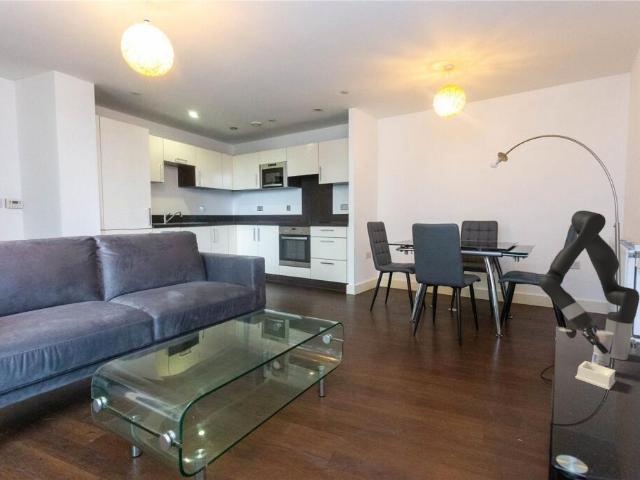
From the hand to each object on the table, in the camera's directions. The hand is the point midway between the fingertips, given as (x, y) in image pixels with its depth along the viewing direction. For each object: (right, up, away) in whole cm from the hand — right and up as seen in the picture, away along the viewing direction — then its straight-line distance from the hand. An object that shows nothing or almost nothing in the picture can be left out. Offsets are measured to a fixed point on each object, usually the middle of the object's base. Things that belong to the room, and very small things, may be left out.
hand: (607, 351), depth 139 cm
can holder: (-10, -9, -6) cm, 15 cm away
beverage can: (-2, -7, +2) cm, 8 cm away
